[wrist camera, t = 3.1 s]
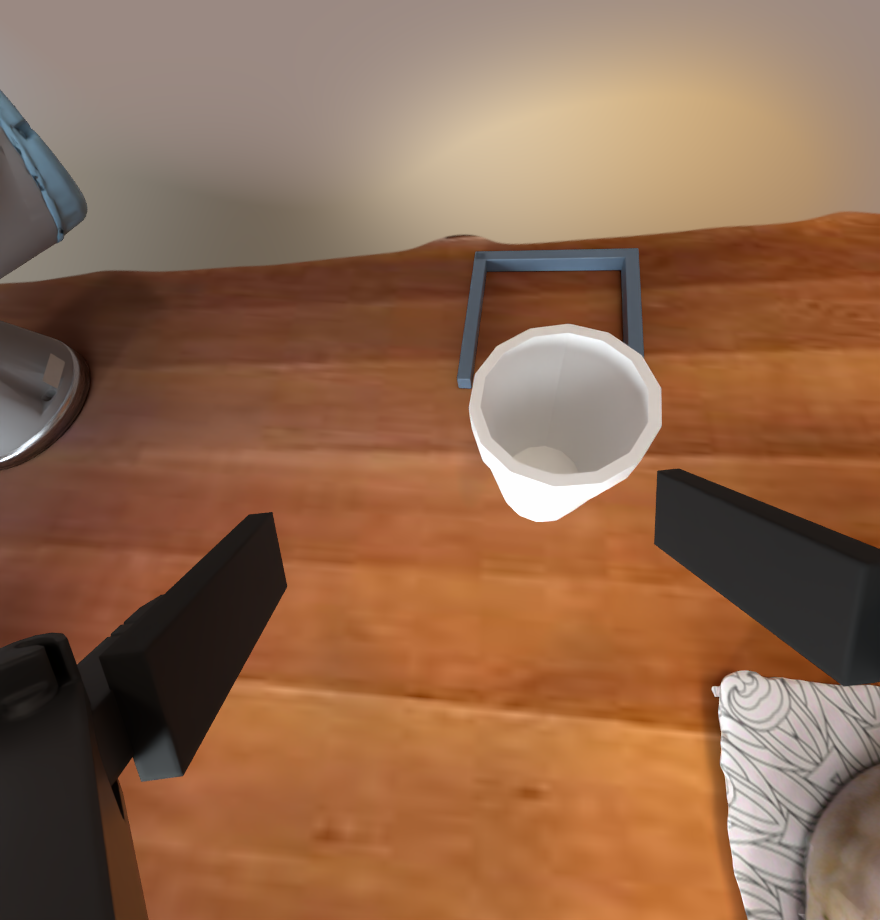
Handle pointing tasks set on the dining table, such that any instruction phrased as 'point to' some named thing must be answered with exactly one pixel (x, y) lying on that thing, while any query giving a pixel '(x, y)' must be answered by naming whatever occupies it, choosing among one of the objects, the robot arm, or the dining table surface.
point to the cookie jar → (802, 796)
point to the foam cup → (562, 417)
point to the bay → (552, 262)
